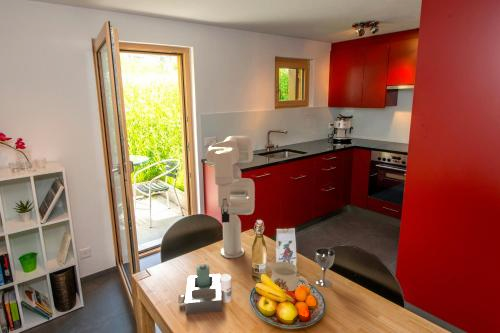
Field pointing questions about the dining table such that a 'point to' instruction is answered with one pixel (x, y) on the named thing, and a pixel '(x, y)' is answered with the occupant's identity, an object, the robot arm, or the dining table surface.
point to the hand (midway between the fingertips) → (225, 217)
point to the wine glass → (324, 264)
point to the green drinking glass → (203, 276)
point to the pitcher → (285, 275)
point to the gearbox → (202, 296)
